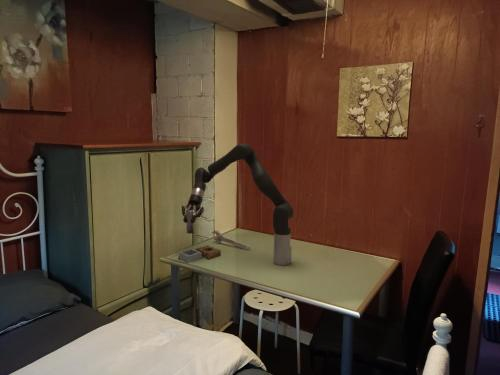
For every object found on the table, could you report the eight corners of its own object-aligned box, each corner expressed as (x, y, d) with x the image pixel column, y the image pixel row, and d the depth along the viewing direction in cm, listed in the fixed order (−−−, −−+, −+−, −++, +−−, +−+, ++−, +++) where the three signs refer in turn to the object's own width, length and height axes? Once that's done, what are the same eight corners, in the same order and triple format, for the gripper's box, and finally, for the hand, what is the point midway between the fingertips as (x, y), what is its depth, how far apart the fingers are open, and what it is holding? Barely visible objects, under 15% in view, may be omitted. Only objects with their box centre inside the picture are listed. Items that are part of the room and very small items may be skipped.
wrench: (248, 255, 227) (210, 240, 243) (249, 254, 229) (212, 240, 244) (249, 243, 225) (212, 229, 241) (251, 242, 227) (213, 228, 242)
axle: (195, 232, 210) (194, 210, 207) (189, 234, 207) (189, 211, 205) (190, 231, 212) (190, 209, 210) (185, 232, 209) (184, 210, 207)
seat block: (201, 258, 212) (201, 252, 211) (188, 262, 205) (188, 256, 205) (191, 254, 218) (191, 248, 218) (178, 258, 212) (178, 252, 211)
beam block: (220, 255, 217) (220, 250, 216) (208, 259, 210) (208, 253, 210) (207, 250, 225) (207, 245, 224) (195, 254, 218) (195, 248, 218)
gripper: (183, 193, 215) (174, 218, 205) (206, 194, 211) (198, 220, 202) (187, 200, 221) (178, 224, 211) (209, 201, 217) (202, 226, 208)
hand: (188, 222), depth 207 cm, fingers closed on axle, 4 cm apart
